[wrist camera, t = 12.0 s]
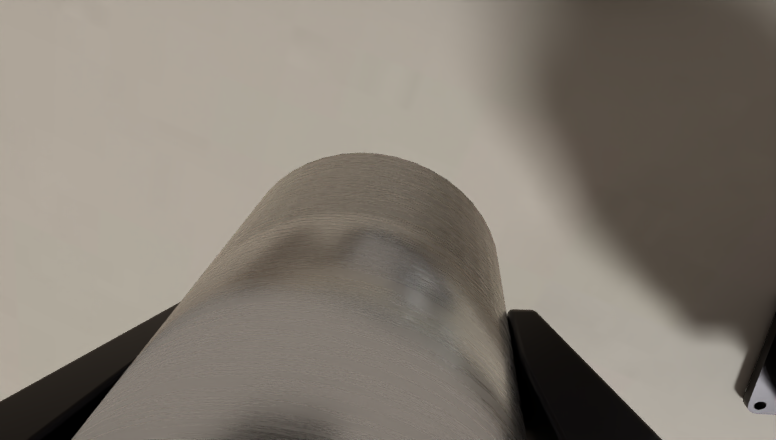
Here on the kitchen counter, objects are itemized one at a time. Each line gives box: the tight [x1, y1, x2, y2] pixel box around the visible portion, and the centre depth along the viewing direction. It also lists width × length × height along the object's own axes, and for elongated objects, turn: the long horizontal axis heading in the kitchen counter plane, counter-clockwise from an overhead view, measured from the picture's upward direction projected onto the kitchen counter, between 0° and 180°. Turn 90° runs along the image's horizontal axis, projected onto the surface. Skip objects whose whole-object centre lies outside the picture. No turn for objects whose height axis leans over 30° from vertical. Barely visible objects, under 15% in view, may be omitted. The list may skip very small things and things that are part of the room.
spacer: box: [71, 153, 527, 440], centre depth 7 cm, size 5×5×6 cm
